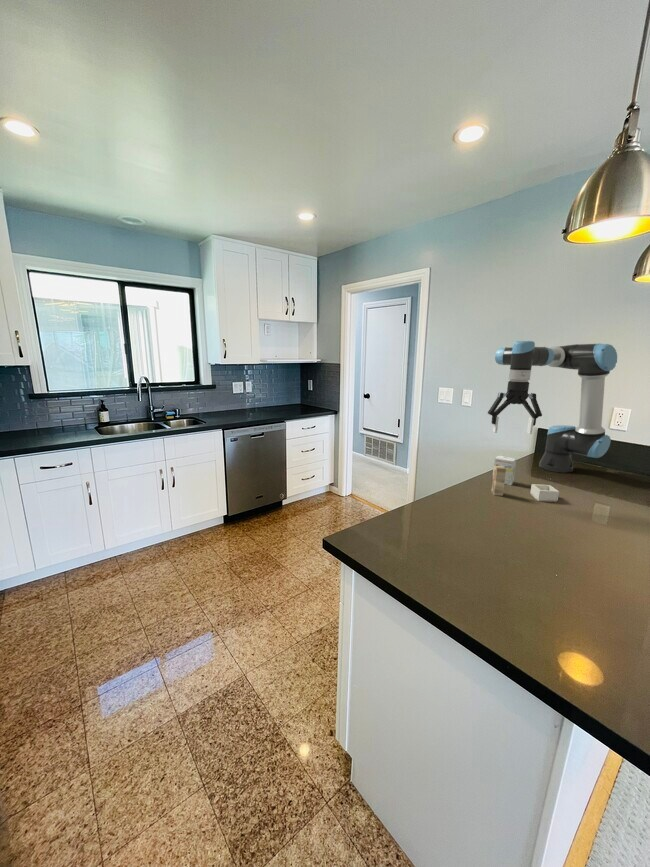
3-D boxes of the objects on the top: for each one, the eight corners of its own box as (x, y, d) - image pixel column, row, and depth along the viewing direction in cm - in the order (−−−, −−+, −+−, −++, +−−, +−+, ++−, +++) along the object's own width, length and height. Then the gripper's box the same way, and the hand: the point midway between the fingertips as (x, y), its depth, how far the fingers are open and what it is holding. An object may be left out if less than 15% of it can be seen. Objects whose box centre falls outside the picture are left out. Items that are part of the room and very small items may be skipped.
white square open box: (530, 494, 151) (531, 484, 150) (548, 495, 150) (550, 485, 149) (538, 500, 144) (539, 490, 143) (557, 501, 143) (559, 491, 142)
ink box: (491, 481, 166) (494, 457, 164) (494, 478, 170) (496, 455, 168) (511, 485, 161) (514, 460, 159) (513, 482, 165) (516, 458, 162)
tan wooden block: (491, 492, 153) (494, 465, 150) (499, 492, 153) (502, 466, 150) (494, 495, 150) (497, 468, 147) (502, 495, 149) (506, 468, 147)
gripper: (489, 380, 138) (483, 433, 142) (557, 382, 135) (548, 435, 139) (483, 379, 145) (477, 429, 149) (547, 380, 142) (539, 431, 147)
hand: (511, 432), depth 144 cm, fingers open, 13 cm apart
